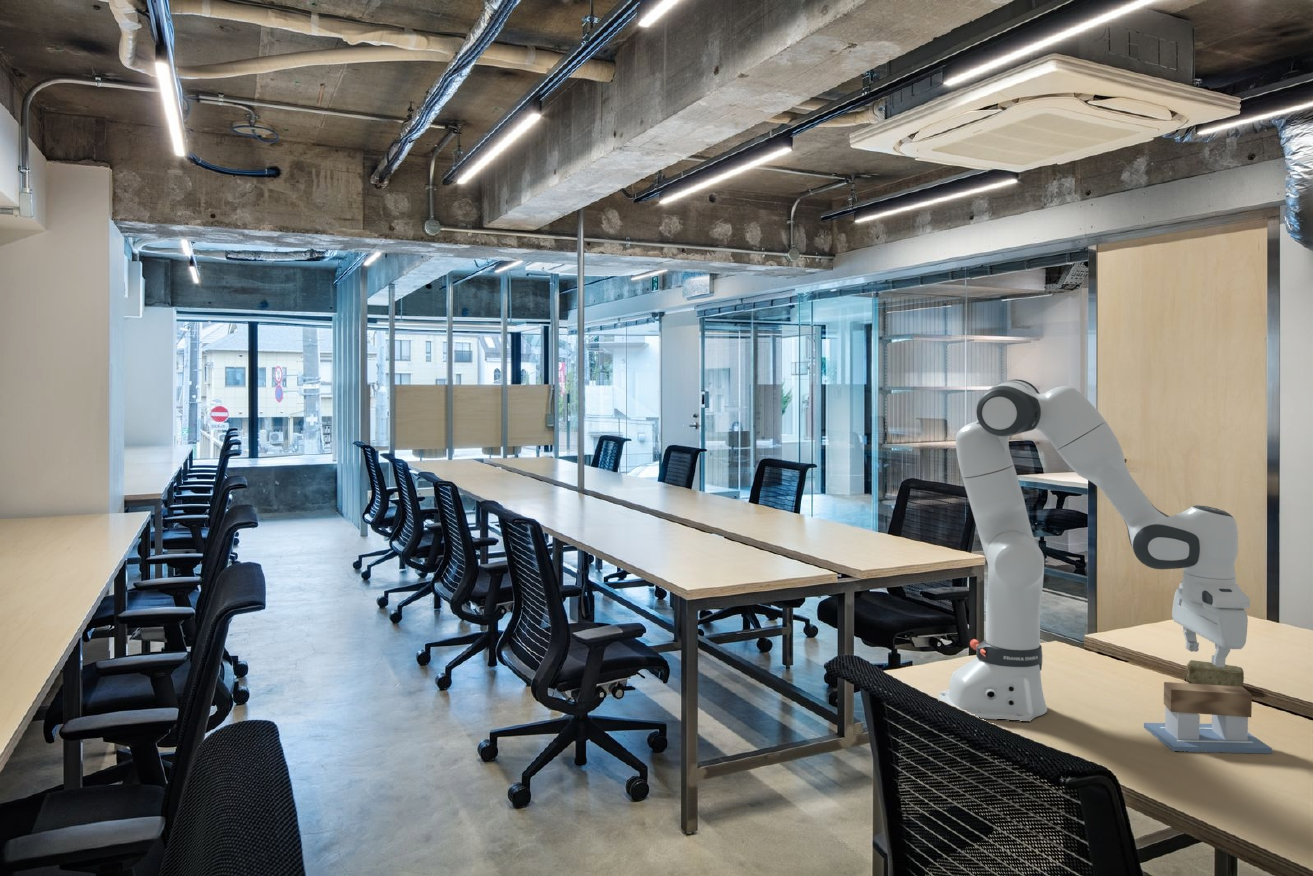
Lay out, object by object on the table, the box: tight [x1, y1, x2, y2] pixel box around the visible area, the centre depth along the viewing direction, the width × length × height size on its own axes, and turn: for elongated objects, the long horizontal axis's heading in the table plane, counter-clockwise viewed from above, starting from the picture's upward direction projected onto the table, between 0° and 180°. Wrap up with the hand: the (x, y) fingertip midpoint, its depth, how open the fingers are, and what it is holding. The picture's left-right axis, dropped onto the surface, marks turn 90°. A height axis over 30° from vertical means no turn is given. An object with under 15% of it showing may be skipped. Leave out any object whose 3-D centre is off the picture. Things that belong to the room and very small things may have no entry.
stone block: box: [1185, 659, 1245, 688], centre depth 205 cm, size 6×12×5 cm, turn 57°
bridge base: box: [1143, 706, 1273, 754], centre depth 174 cm, size 18×12×6 cm, turn 85°
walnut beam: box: [1163, 681, 1253, 718], centre depth 173 cm, size 14×4×4 cm, turn 76°
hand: (1204, 658), depth 173 cm, fingers open, 8 cm apart
